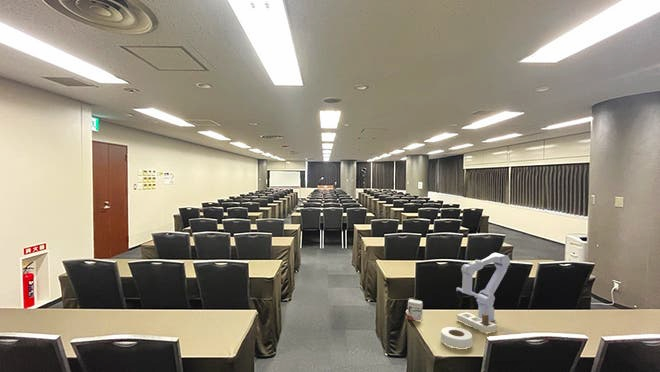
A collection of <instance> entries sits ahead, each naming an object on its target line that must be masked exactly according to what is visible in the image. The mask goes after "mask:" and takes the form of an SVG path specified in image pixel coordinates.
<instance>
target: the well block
mask: <svg viewBox="0 0 660 372" xmlns="http://www.w3.org/2000/svg"><path fill="white" fill-rule="evenodd" d="M457 319H458V320H460V321H462V322H464V323H466V324H468V325H470V326H472V327H473V328H476V329H478V330H480V331H483V332H486V333H487V332H493V331H496V332H497V329H498V328H497V327H498V326H497V324H496V323H494V322H492V321H491V322H489V325H488V326H485V325H483V324H482V318H480V317H478V315H475V314H472V313H470V312H463V313H459V314H458V313H457V314H456V320H457ZM473 328H472V329H473ZM478 330H477V331H478ZM480 331H479V332H480ZM493 333H494V332H493Z"/></svg>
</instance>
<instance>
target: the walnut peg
mask: <svg viewBox="0 0 660 372" xmlns="http://www.w3.org/2000/svg"><path fill="white" fill-rule="evenodd" d="M482 324H483V325H485V326H488V325H489V315H488V314H482Z"/></svg>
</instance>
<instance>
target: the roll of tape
mask: <svg viewBox="0 0 660 372" xmlns="http://www.w3.org/2000/svg"><path fill="white" fill-rule="evenodd" d="M441 340H442V341H443V342H444V343H446V344H447V345H450V346H453V347H458V348H466V347H470V346H471V345H472V346H473V334H472V333H471V332H470V331H468V330H467V329H464V328H460V327H455V326H447V327H444V328H441V331H440V341H441Z"/></svg>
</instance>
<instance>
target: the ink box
mask: <svg viewBox="0 0 660 372" xmlns="http://www.w3.org/2000/svg"><path fill="white" fill-rule="evenodd" d="M423 306H424V304H423V301H422V300H418V299H412V298H410V299H408V301H407V320H409V321H413V320H421V319H422V320H423Z"/></svg>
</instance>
